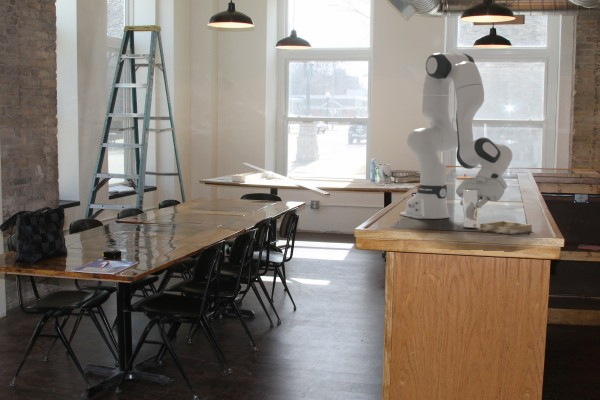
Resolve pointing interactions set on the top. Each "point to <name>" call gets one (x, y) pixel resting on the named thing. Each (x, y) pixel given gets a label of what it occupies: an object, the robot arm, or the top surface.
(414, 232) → the top surface
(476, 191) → the beer glass
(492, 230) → the oak tray
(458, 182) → the lidded jar
